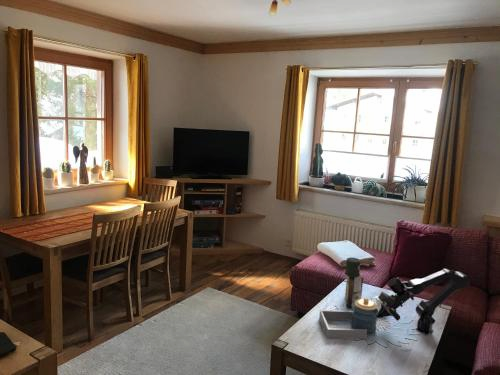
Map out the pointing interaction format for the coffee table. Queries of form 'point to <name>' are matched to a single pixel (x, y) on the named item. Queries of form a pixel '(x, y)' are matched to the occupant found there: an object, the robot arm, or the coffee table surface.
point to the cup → (378, 302)
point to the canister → (364, 315)
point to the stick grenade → (352, 277)
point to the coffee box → (355, 288)
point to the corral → (340, 333)
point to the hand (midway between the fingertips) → (376, 317)
